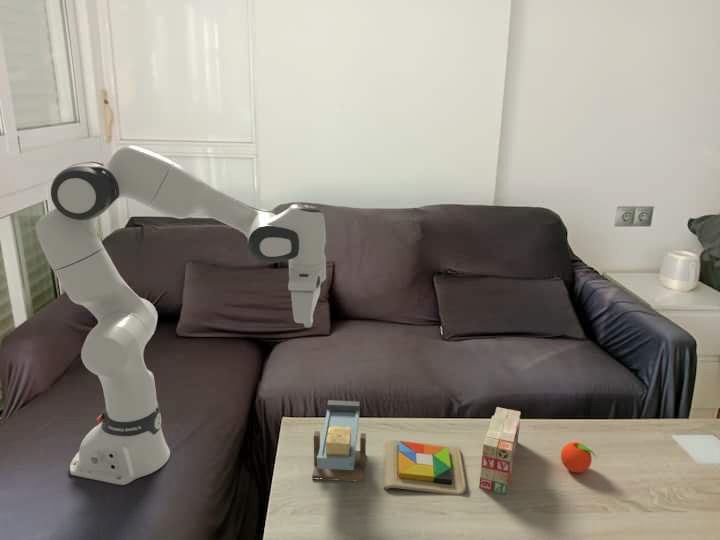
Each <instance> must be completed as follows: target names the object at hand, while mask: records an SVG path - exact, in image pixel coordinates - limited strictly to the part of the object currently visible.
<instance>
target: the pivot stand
mask: <svg viewBox="0 0 720 540" xmlns="http://www.w3.org/2000/svg"><path fill="white" fill-rule="evenodd" d="M359 440H360V441H359V444H360V445H359V448H360V449H359V450H356V451H355V461H354V470H339V469H319V468H317V455H318V454H319V449H320V444H321V434H320V430H319V431H318V430H315V431H314V433H313V469H312V473H311V474H312V476H311V477H312V478H319V479H320V478H322V479H339V480H356V481H355V482H359V481H364V479H365V470H366V457H365V456H366V455H367V454H366V453H367V451H366V449H367V447H366V446H367V445H366V444H367V433H364V432H363V433H362V432H361V433H360V438H359ZM364 469H365V470H364ZM319 479H318V480H319ZM339 480H338V481H339ZM364 482H365V481H364Z"/></svg>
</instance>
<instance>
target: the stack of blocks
mask: <svg viewBox="0 0 720 540" xmlns="http://www.w3.org/2000/svg"><path fill="white" fill-rule="evenodd" d="M521 413H522V412H521V411H519V410H514V409H508V408H503V407H499V406H497V407H496V408H495V412H494V415H492V416H491V419H490V424H489V428H488V430H487V432H486V436H485V438H484V442H483V444H482V445H483V446H482V456H481V465H480V477H479V485H478V488H479V489H482V490H486V491H488V492H489V491H490V492H493V493H494V492H495V493H497V494H502V495H507V492H508V488H509V485H510V481H511V476H512V472H513V464H514V459H515V456H516V452H517V447H518V443H519V433H520V427H521V421H520V420H521Z"/></svg>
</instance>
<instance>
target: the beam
mask: <svg viewBox="0 0 720 540" xmlns="http://www.w3.org/2000/svg"><path fill="white" fill-rule="evenodd" d="M360 404H361V403H360V401H355V400H354V401H353V400H352V401H351V400H334V399H332V400H331V399H330V400H329V399H328V400H327V404H326V405H327V406H326V413H325V414H326V415H325V418H324V419H325V420H324V425H323V429H322V434H321V438H320V449H319V454H318V455H317V468H319V469H339V470H354V461H355V451H357V439H358V430H359V422H360V421H359V420H360ZM329 426H335V427H351V450H350V457H340V456H326V440H327V435H328V430H329Z"/></svg>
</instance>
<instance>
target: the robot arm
mask: <svg viewBox="0 0 720 540" xmlns="http://www.w3.org/2000/svg"><path fill="white" fill-rule="evenodd" d="M50 198H51V201H52V203H53V206H54V207H55V208H54V209H51V210H49V211H48V212H46V213H45V214H43V215H42V216H41V217H40V218H39V219H38V220H37V223H36V225H35V232H36V236H37V239H38V241H39V243H40V247H41V249H42V251H43V253H44V256H45V259H46V260H47V262H48V264H49V266H50V268H51V269H52V271H53V272H54V275H55V276H56V278H57V279H58V281H59V283H60V285H61V287H62V288H63V290H64V291H65V293H66V294H67V296H68V298H69V299H70V300H71V302H73V303H74V304H76V305H79V306H80V305H81V306H83V307H84V308H86V309H87V310H88V311H89V312H90V313H91V314H92V315H93V316H94V317H95V319H96V320H97V322H98V323H97V324H96V325H95V326H94V327H93V328H92V329H91V330H89V333H88V334H87V336H86V338H85V340H84V343H83V345H82V348H81V351H80V352H81V353H80V357H81V361H82V363H83V365H84V366H85V368H86V369H87V370H88V371H89V372H90V373H92V374H94V375H96V376H97V377H98V378H99V381H100V383H101V386H102V390H103V396H104V403H105V408H104V409H103V410H102V411H101V412H100V415H99V416H98V417H97V419H96V422H97V423H96V424H97V425H96V426H95V427H93V428H92V429H91V430H90V431H89V432H88V433H87V434H86V435H85V437H84V438H83V440H82V441H81V443H80V446H79V451H78V452H77V453H76V454H75V455H74V457H73V458H72V460H71V463H70V465H69V474H70V475H72V476H75V477H76V476H77V477H80V478H84V479H89V480H95V481H99V482H105V483H109V484H113V485H119V486H125V485H128V484H130V483H132V482H133V481H134V480H136V479H139V478H141V477H145V476H149V475H150V474H152V473H154V472H156V471H158V470H159V469H160V468H162V467H163V466H165V464H166V463H167V462H168V460H169V458H170V456H171V450H170V448H169V446H168V445H167V442H166V439H165V437H164V434H163V430H162V429H163V428H162V416H161V409H160V404H159V402H158V400H157V391H156V383H155V377H154V374H153V372H152V371H150V370H149V369H148V368H147V366H146V364H145V360H144V352H145V347H146V345H147V343H149V341H150V340H151V338H152V336H153V335H154V334H155V331H156V328H157V323H158V318H159V317H158V312H157V309H156V307H155V306H154V305H153V303H151V302H150V301H149V300H147V299H146V298H142V297H140V296H139V295H138V294H137V293H135V291H134V290H133V289H132V288H131V287H130V286H129V285H128V284H127V282H126V281H125V280H124V278H123V277H122V276H121V274H120V273H119V271H118V269H117V268H116V266H115V264H114V262H113V261H112V258H111V257H110V255H109V254H108V252H107V250H106V248H105V247H104V245H103V243H102V241H101V239H100V237H99V236H98V233H97V231H96V227H95V219H96V218H98V217H99V216H101V215H102V214H104V213H105V212H107V211H108V210H109V209H110V208H111V207H112V205H113V204H114V202H115V201H117V200H118V199H120V198H121V199H122V198H126V199H127V198H128V199H131V200H134V201H136V202H138V203H140V204H143V205H144V206H146V207H148V208H150V209H152V210H154V211H156V212H158V213H160V214H162V215H165V216H169V217H172V218H174V219H179V220H183V219H188V218H192V217H198V216H199V217H200V216H201V217H208V218H211V219H214V220H217V221H219V222H221V223H223V224H225V225H227V226H229V227H232V228H233V229H235V230H238V231H239V232H241V233H242V234H244V235H245V237H246V238H247V248H248V251H249V253H250V255H251V256H252V258H253V259H254V260H256V261H258V262H260V263H261V264H267V265H268V264H269V265H270V264H276V263H277V264H278V263H280V262H286V261H288V291H290V294H291V306H292V307H291V308H292V316H293V320H294V323H295V324H303V326H304V328H311V327H312V325H313V322H314V311H315V309H316V306H317V303H318V300H319V297H320V294H321V286H322V283H323V282H324V281H326V279H327V256H326V254H325V248H326V247H325V246H326V243H327V237H326V236H327V235H326V221H325V216H324V213H323V212H322V211H321V210H320V209H319V208H318V207H317V206H314V205H311V204H306V203H293V204H291V205H290V206H289V207H288V208H287V209H284V210H283V211H282V212H280V213H279V212H278V211H275V210H273V209H268V208H266V209H265V208H257V207H253V206H249V205H248V204H245V203H244V202H241V201H239V200H237V199H235V198H233V197H232V196H229V195H227V194H225V193H223V192H220V191H219V190H217V189H216V188H214V187H212V186H211V185H210V184H208V183H207V182H205V181H203V180H202V179H201V178H200V177H198V176H196V175H195V174H194V173H193V172H191V171H189V170H188V169H186V168H185V167H183V166H182V165H179V164H178V163H176V162H174V161H173V160H170V159H168V158H167V157H165V156H162V155H159V154H157V153H155V152H153V151H150V150H147V149H145V148H141V147H139V146H135V145H126V146H122V147H121V148H119V149H118V150H117V151H116V152H115V153H114V154H113V155H112V156H111V159H110V160H109V162H107V163H106V164H103V163H100V162H96V161H85V162H84V161H83V162H78V163H75V164H74V163H73V164H72V165H69V166H68V167H67V168H65V169H64V170H62V171H60V172H59V173H58V174H57V175H56V176H55V178H54V179H53V181H52V184H51V187H50Z"/></svg>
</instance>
